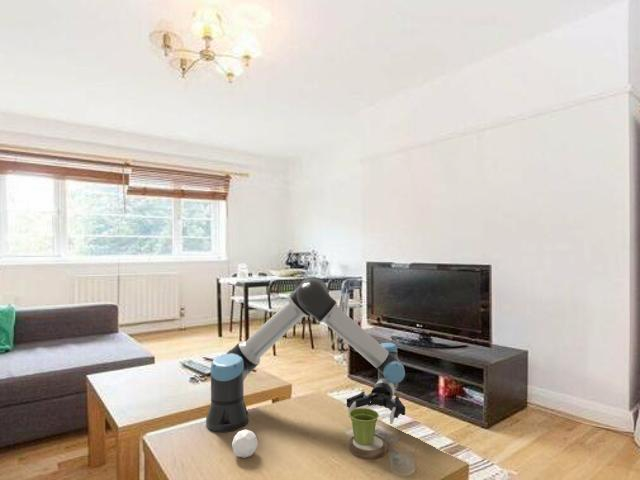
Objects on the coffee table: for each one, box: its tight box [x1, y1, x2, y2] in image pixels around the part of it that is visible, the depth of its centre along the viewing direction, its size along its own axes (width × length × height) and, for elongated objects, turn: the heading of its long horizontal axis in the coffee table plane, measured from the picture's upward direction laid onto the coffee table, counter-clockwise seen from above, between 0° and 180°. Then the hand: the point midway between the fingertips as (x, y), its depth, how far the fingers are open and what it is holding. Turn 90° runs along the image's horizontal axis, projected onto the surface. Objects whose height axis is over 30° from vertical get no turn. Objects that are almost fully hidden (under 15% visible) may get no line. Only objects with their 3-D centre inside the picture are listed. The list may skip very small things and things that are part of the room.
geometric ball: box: [231, 429, 259, 459], centre depth 126 cm, size 8×8×8 cm
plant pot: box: [348, 407, 379, 445], centre depth 131 cm, size 9×9×9 cm
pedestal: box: [348, 433, 388, 460], centre depth 130 cm, size 12×12×2 cm
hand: (370, 416), depth 132 cm, fingers open, 13 cm apart
